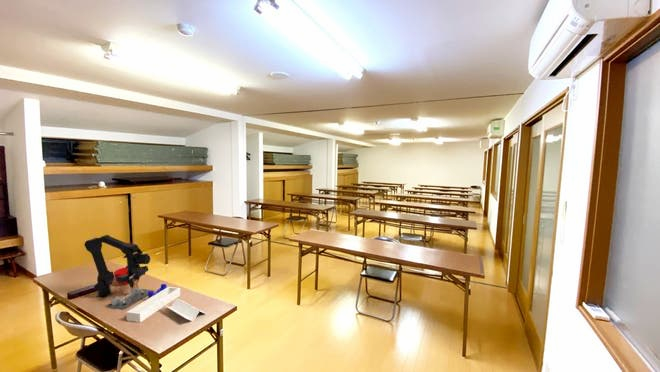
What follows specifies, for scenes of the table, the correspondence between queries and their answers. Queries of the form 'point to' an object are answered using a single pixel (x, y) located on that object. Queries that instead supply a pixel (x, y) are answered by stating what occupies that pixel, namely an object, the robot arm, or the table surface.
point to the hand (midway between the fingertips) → (134, 286)
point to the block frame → (152, 304)
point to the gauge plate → (128, 300)
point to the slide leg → (135, 287)
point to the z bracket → (184, 309)
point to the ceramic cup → (120, 273)
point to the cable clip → (151, 293)
